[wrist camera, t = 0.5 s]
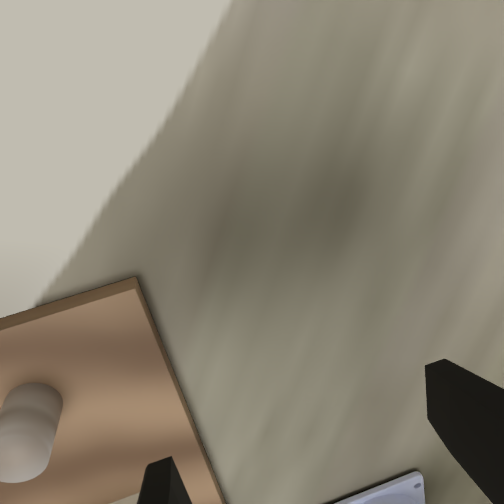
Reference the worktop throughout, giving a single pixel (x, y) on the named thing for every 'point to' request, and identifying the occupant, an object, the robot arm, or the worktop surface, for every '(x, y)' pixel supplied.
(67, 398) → the brown rectangular board
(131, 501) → the hollow square socket
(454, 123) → the worktop surface
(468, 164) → the worktop surface
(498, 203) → the worktop surface
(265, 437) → the worktop surface
